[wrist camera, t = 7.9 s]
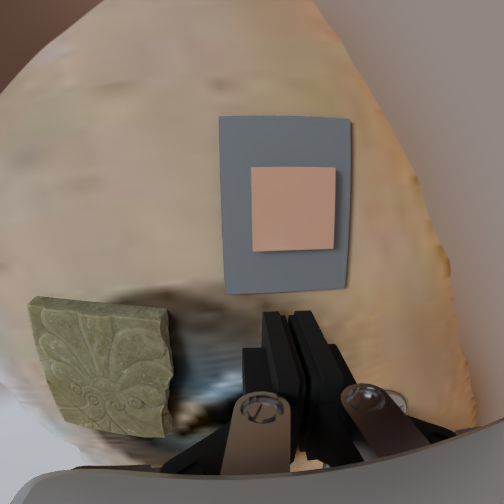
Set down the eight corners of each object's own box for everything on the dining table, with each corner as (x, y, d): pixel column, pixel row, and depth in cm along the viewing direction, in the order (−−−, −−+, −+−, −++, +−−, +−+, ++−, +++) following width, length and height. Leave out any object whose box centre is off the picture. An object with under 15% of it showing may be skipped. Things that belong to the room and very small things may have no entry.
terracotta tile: (251, 247, 33) (329, 244, 33) (252, 251, 31) (333, 248, 32) (250, 166, 30) (330, 167, 31) (251, 167, 29) (335, 167, 29)
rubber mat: (342, 285, 35) (344, 288, 35) (225, 291, 35) (225, 294, 34) (347, 120, 30) (350, 119, 30) (219, 117, 30) (218, 116, 29)
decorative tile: (68, 410, 40) (60, 425, 36) (35, 293, 34) (21, 305, 31) (183, 427, 41) (181, 444, 38) (173, 304, 35) (167, 319, 32)
